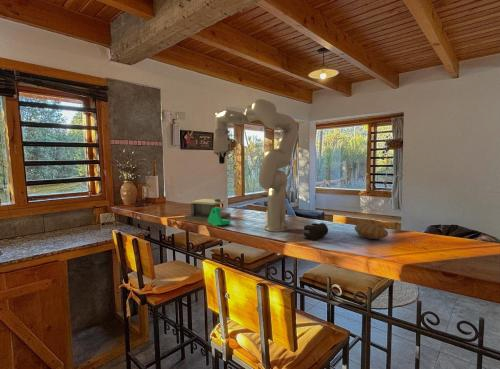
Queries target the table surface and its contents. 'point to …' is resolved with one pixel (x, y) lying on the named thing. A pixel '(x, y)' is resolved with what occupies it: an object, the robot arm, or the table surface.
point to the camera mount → (217, 217)
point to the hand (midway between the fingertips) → (221, 163)
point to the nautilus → (371, 230)
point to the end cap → (315, 231)
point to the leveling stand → (203, 212)
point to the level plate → (208, 201)
